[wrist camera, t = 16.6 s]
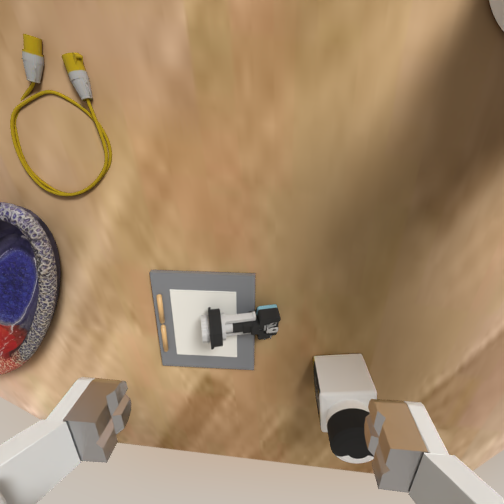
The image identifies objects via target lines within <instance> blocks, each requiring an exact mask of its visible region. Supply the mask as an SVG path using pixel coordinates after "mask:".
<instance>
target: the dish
mask: <svg viewBox="0 0 504 504" xmlns="http://www.w3.org/2000/svg"><path fill="white" fill-rule="evenodd" d="M60 274H61V272H60V259H59V253H58V249H57V246H56V242H55V240H54V238H53V235H52V233H51V232H50V230H49V229H48V227H47V225H46V224H45V223H44V222H43V221H42V220H41V219H40V218H39V217H38V216H37V215H36V214H34V213H33V212H31V211H30V210H28V209H26V208H23V207H21V206H16V205H13V204H9V203H4V202H0V375H1V374H5V373H8V372H11V371H13V370H15V369H17V368H19V367H20V366H22V365H23V364H24V363H26V362H27V361H28V360H29V359H30V358H31V357H32V355H33V354H34V353H35V352H36V350H37V349H38V347H39V346H40V344H41V342H42V341H43V339H44V337H45V335H46V332H47V330H48V328H49V325H50V323H51V320H52V318H53V315H54V312H55V308H56V304H57V300H58V295H59V288H60Z"/></svg>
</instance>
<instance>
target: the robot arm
mask: <svg viewBox="0 0 504 504" xmlns="http://www.w3.org/2000/svg"><path fill="white" fill-rule="evenodd" d="M489 2H490V6H491V9H492V12H493V15H494V17H495V19H496V21H497V23H498V25H499V26H500V27H501V29H502V30H503V31H504V0H489ZM127 389H128V387H127V384H126V381H119V380H110V379H100V378H88V377H81V378H79V379H78V380H77V381H76V382H75V383H74V384H73V385H72V387H71V388H70V389H69V391H68V392H67V393H66V394H65V396H64V397H63V398H62V399H61V401H60V402H59V403H58V404H57V406H56V407H55V408H54V410H53V411H52V412H51V413H50V415H49V416H48V417H47V418H46V420H42V419H41V420H39V421H38V422H36V423H35V424H33V425H31V426H30V427H28V428H27V429H25V430H23V431H22V432H20V433H19V434H17V435H15V436H14V437H12V438H11V439H9V440H7V441H6V442H4V443H2V444H1V445H0V504H36V503H37V502H38V501H39V500H40V499H41V498H42V497H44V496H45V495H46V494H47V493H48V492H49V491H50V490H51V489H52V488H53V487H54V486H56V485H57V484H58V483H59V482H60V481H61V480H62V479H63V478H64V477H65V476H66V475H68V474H69V473H70V472H71V471H72V470H73V469H74V468H75V467H76V466H77V465H78V464H80V463H81V461H93V462H107V461H108V459H109V457H110V455H111V453H112V451H113V449H114V448H115V446H116V444H117V442H118V441H117V435H116V434H118V433H119V432H120V431H121V430H123V429H124V428H125V426H126V424H127V422H128V419H129V416H130V412H131V400H130V398H129V397H128V396H127V395H126V394H125V393H126V391H127ZM368 409H369V412H370V414H369V415H367V416H366V418H365V424H364V431H365V439H366V444H367V448H368V450H369V451H370V452H371V453H372V455H373V456H374V458H373V462H372V467H373V470H374V474H375V477H376V481H377V485H378V489H384V490H392V491H400V492H408V493H409V495H410V497H411V498H412V499H413V500H414V502H415V503H416V504H504V498H502V497H501V496H500V495H499V494H498V493H497V492H496V491H494V490H493V489H492V488H491V487H490V486H489V485H488V484H487V483H485V482H484V481H483V480H482V479H481V478H480V477H479V476H477V475H476V474H475V473H474V472H473V471H472V470H471V469H470V468H468V467H467V466H466V465H465V464H464V463H463V462H462V461H460V460H459V459H458V458H457V457H456V456H455V455H449V453H448V451H447V449H446V447H445V445H444V444H443V442H442V440H441V438H440V436H439V434H438V432H437V430H436V428H435V426H434V424H433V422H432V420H431V418H430V416H429V414H428V412H427V410H426V409H425V407H424V405H423V404H422V403H421V402H409V401H398V400H382V399H371V400H370V401H369V405H368Z"/></svg>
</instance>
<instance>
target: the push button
mask: <svg viewBox="0 0 504 504" xmlns="http://www.w3.org/2000/svg"><path fill="white" fill-rule="evenodd" d="M279 321H280V315H279V311H278V308H277V305H276V304H273V305H266V306H259V307H257V309H256V311H249V312H248V313H242V314H234V315H224V313H220V309H219V308H218V309H211V307H208V314H206V315H201V329H202V340H203V343H208V344H209V343H210V342H211V350H212V349H214V347H220V346H223V341H225V340H226V337H227V336H234V335H241V334H249V333H251V335H256V334H257V336H258V339H264V340H265V339H267V338H270V339H271V336H272V335H276V334H277V332H278V323H279Z"/></svg>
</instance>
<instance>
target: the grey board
mask: <svg viewBox="0 0 504 504" xmlns="http://www.w3.org/2000/svg"><path fill="white" fill-rule="evenodd" d="M150 278H151V285H152V292H153V299H154V306H155V313H156V320H157V328H158V335H159V342H160V349H161V356H162V363H163V365H166V366H186V367H205V368H225V369H244V370H254V340H255V335H251V333H249V334H241V335H234V336H227V337H226V340H225V341H223V346H220V347H214V349H212V350H211V342H210V343H209V344H208V343H203V340H202V329H201V315H206V314H208V307H211V309H218V308H219V309H220V313H224V315H234V314H242V313H248V312H249V311H255V273H229V272H200V271H171V270H151V271H150Z"/></svg>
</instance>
